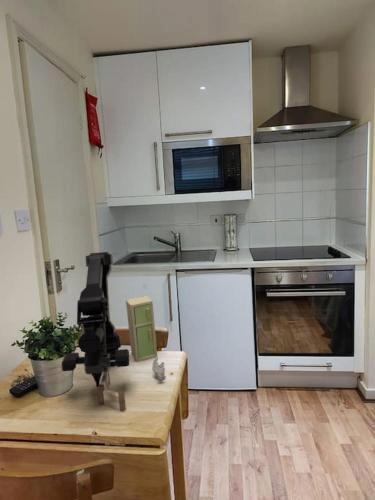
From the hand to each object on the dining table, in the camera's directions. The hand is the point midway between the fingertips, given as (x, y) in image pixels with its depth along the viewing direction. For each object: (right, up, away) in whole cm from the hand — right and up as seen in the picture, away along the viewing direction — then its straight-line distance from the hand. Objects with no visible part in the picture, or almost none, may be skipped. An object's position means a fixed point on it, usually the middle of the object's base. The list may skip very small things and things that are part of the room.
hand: (98, 386), depth 104 cm
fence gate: (+2, -1, 0) cm, 3 cm away
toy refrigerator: (+11, +2, +22) cm, 24 cm away
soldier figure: (+18, 0, +9) cm, 20 cm away
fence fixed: (+6, -3, -7) cm, 10 cm away
